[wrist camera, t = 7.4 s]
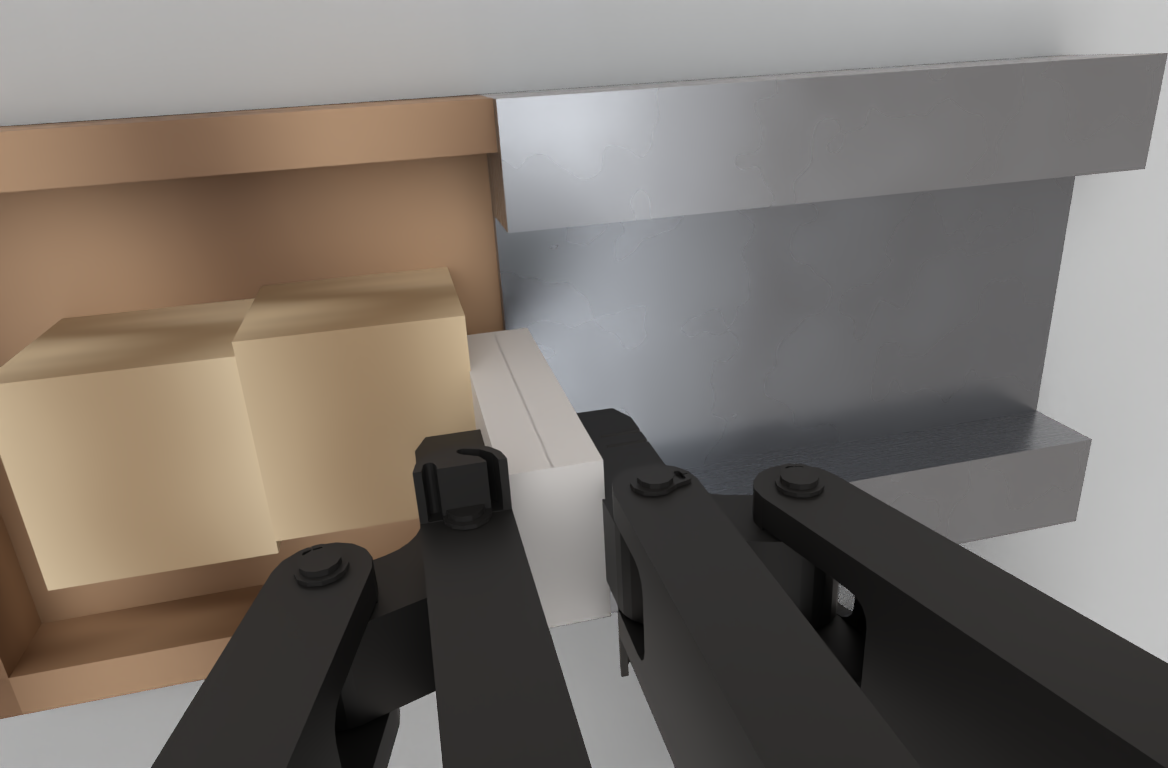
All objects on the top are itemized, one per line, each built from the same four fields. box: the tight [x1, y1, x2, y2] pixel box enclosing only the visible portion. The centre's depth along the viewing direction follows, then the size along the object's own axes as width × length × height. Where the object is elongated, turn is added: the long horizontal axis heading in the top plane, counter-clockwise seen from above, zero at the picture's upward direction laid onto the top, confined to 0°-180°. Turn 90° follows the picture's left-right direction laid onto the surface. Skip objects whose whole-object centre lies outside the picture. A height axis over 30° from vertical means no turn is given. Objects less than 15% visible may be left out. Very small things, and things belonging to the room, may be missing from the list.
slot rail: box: [479, 53, 1168, 613], centre depth 20 cm, size 15×12×3 cm
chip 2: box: [232, 267, 476, 541], centre depth 17 cm, size 4×4×4 cm
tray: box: [0, 95, 504, 719], centre depth 18 cm, size 12×12×2 cm
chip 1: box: [0, 298, 281, 591], centre depth 16 cm, size 4×4×4 cm
